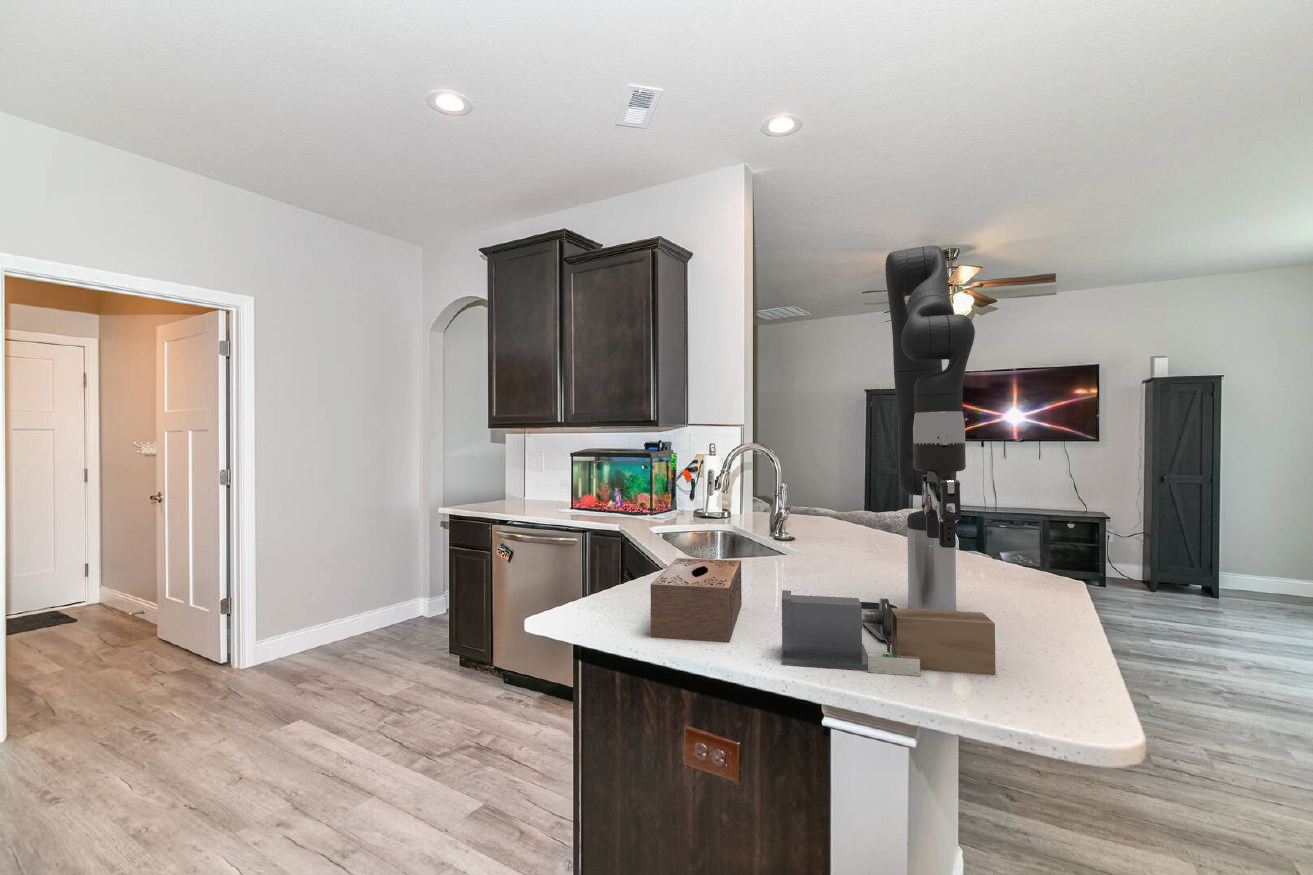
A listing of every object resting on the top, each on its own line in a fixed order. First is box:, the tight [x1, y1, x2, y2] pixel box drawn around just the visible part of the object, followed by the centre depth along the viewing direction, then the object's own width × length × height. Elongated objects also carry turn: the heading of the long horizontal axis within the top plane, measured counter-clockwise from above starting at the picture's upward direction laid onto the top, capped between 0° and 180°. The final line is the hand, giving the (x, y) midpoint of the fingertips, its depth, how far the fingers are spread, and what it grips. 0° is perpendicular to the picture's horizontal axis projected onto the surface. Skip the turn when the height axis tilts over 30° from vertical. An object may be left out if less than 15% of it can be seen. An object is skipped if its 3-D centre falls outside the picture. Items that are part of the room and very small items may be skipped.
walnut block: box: [890, 607, 996, 676], centre depth 96 cm, size 6×14×8 cm, turn 77°
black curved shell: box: [860, 601, 898, 642], centre depth 113 cm, size 16×8×4 cm, turn 178°
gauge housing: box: [781, 589, 921, 677], centre depth 98 cm, size 11×20×10 cm, turn 77°
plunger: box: [862, 598, 891, 654], centre depth 98 cm, size 8×13×7 cm, turn 77°
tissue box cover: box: [649, 557, 743, 644], centre depth 121 cm, size 26×14×10 cm, turn 167°
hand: (940, 542), depth 96 cm, fingers open, 8 cm apart
